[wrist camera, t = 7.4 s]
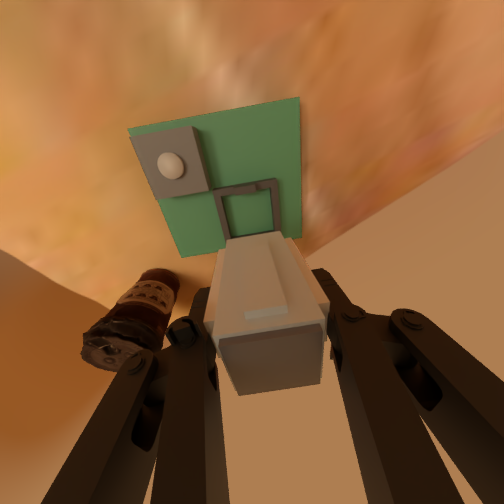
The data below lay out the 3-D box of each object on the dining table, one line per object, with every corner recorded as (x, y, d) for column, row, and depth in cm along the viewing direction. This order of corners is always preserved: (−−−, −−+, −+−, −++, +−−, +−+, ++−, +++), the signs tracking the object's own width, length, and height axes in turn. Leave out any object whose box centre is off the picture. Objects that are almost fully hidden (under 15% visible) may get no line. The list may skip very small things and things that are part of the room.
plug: (225, 235, 13) (207, 336, 6) (279, 225, 13) (329, 317, 6) (237, 281, 15) (235, 398, 8) (283, 274, 15) (324, 385, 8)
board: (136, 130, 20) (109, 125, 16) (294, 101, 20) (309, 87, 16) (185, 251, 28) (175, 269, 24) (298, 232, 28) (308, 247, 23)
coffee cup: (137, 254, 28) (69, 324, 17) (191, 268, 30) (161, 340, 19) (132, 293, 32) (74, 372, 20) (180, 304, 34) (151, 381, 22)
